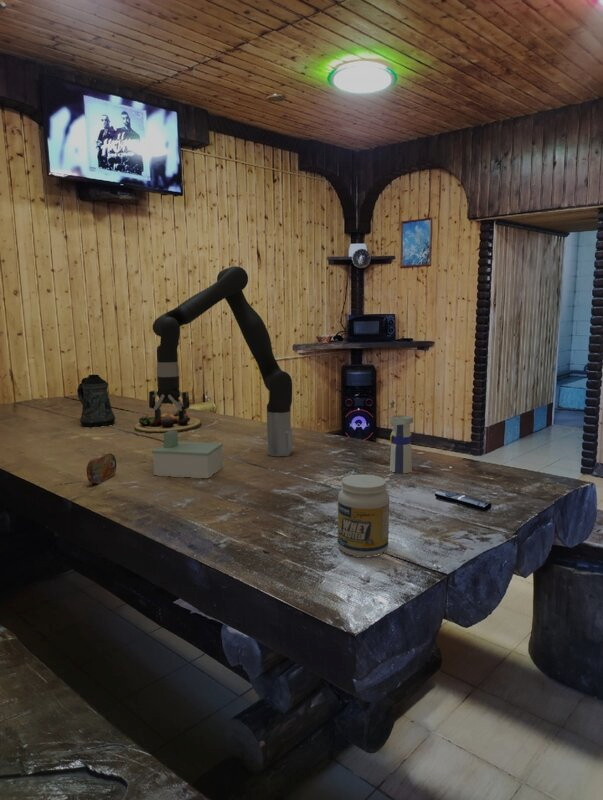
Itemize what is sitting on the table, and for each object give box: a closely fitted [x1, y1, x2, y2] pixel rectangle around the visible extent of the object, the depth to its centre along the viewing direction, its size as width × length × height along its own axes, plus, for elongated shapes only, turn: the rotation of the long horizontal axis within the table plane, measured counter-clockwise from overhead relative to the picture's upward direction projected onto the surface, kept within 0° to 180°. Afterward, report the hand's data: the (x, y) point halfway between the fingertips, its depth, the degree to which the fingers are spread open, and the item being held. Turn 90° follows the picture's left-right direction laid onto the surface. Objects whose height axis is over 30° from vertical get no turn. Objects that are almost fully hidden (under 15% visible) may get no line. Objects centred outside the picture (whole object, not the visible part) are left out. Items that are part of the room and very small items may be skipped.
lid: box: [151, 431, 224, 456], centre depth 202 cm, size 20×14×8 cm
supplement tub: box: [336, 473, 390, 558], centre depth 136 cm, size 12×12×17 cm
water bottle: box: [389, 399, 414, 474], centre depth 200 cm, size 8×9×25 cm
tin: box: [85, 452, 117, 485], centre depth 194 cm, size 15×3×8 cm, turn 168°
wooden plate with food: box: [133, 409, 202, 434], centre depth 281 cm, size 32×32×8 cm
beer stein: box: [76, 374, 116, 428], centre depth 286 cm, size 16×19×25 cm
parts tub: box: [152, 446, 224, 479], centre depth 203 cm, size 20×14×8 cm
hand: (169, 420), depth 202 cm, fingers open, 8 cm apart
